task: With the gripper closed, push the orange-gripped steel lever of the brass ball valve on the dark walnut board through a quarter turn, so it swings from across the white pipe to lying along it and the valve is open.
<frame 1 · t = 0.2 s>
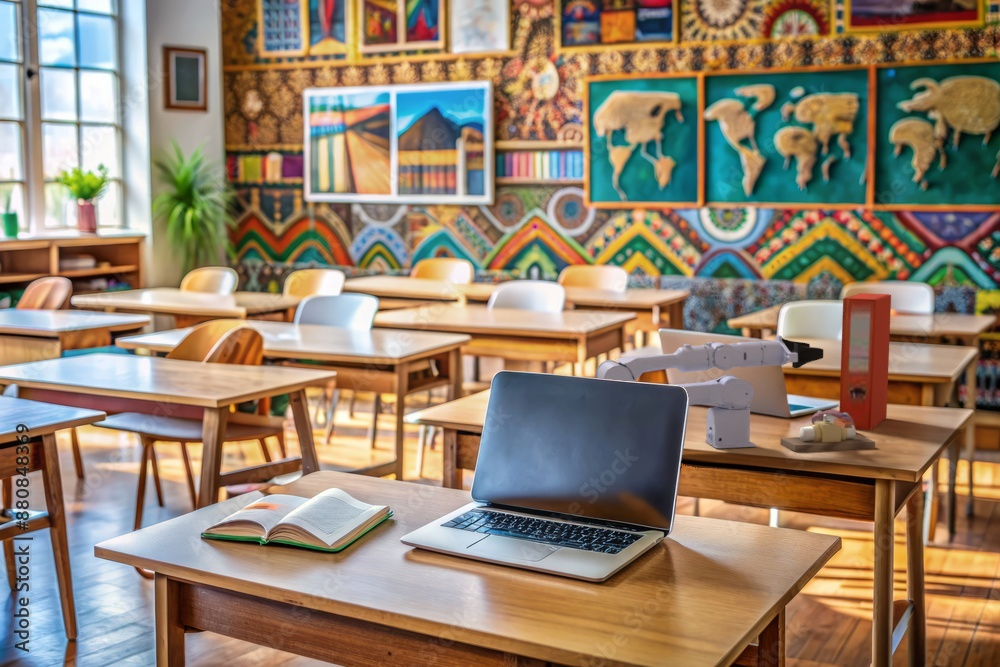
hand: (815, 350, 249), 21 cm above the table, tool horizontal, fingers open, 7 cm apart
video game controller: (832, 433, 261), on the table
pipe valve: (827, 446, 246), resting on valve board
valve lever: (836, 421, 241), point 7 cm above the table, hinge at 0.0°
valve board: (827, 446, 246), on the table
file binder: (863, 423, 273), on the table
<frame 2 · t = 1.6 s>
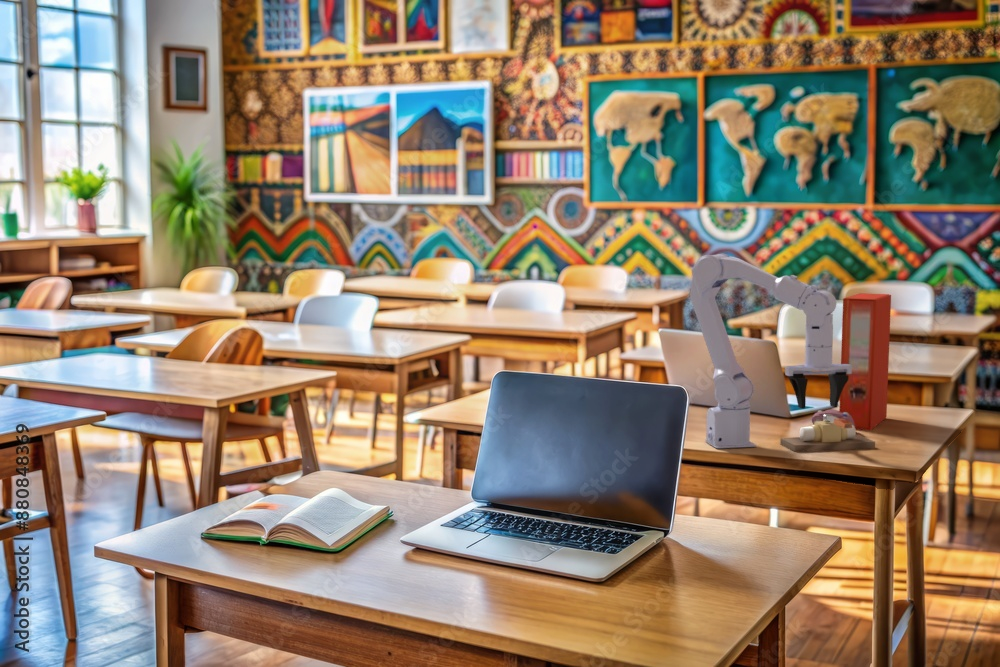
hand: (817, 407, 238), 10 cm above the table, tool pointing down, fingers open, 7 cm apart
nothing on the table moved.
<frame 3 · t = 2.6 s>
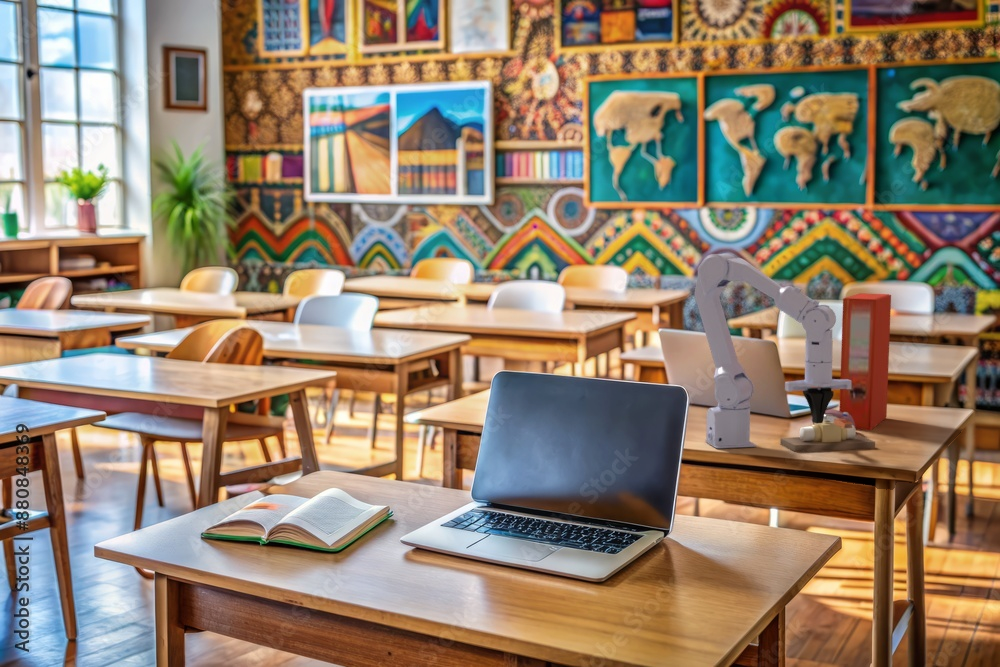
hand: (817, 422, 238), 7 cm above the table, tool pointing down, fingers closed
nothing on the table moved.
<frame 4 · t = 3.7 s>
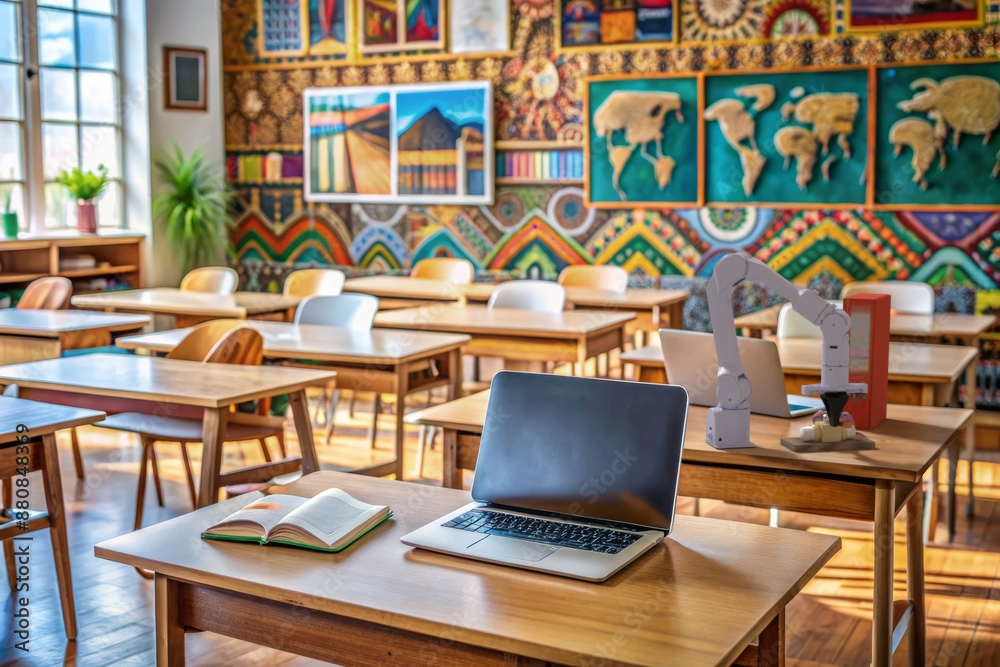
hand: (833, 426, 239), 6 cm above the table, tool pointing down, fingers closed, pressing on valve lever
valve lever: (836, 421, 241), point 7 cm above the table, hinge at 0.0°, touching gripper
everything else where it was.
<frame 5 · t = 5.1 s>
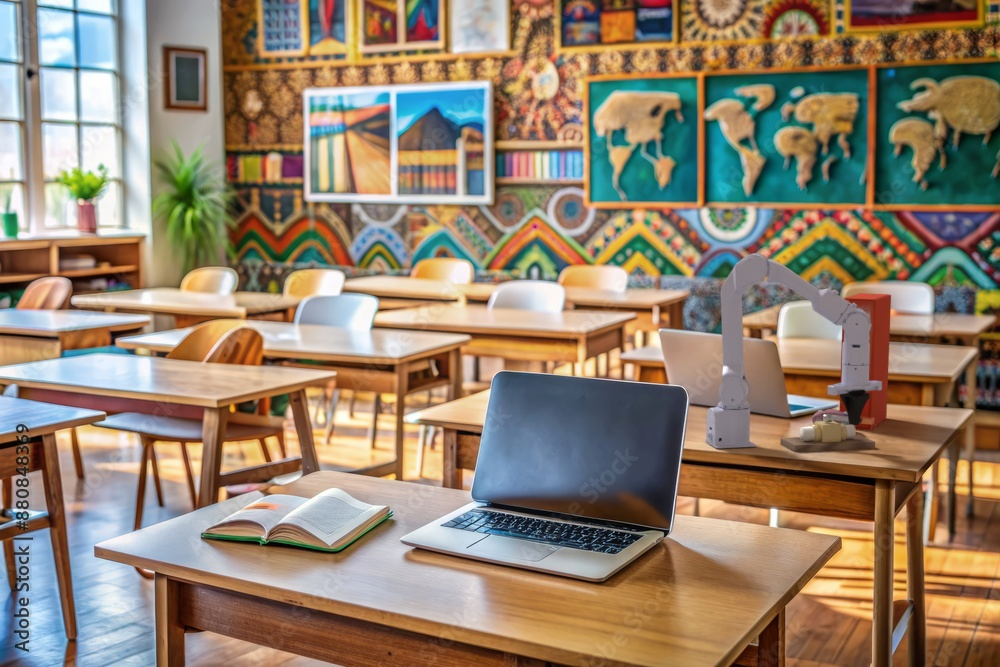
hand: (854, 424, 240), 6 cm above the table, tool pointing down, fingers closed, pressing on valve lever
valve lever: (847, 419, 243), point 7 cm above the table, hinge at 49.3°, touching gripper
everything else where it was.
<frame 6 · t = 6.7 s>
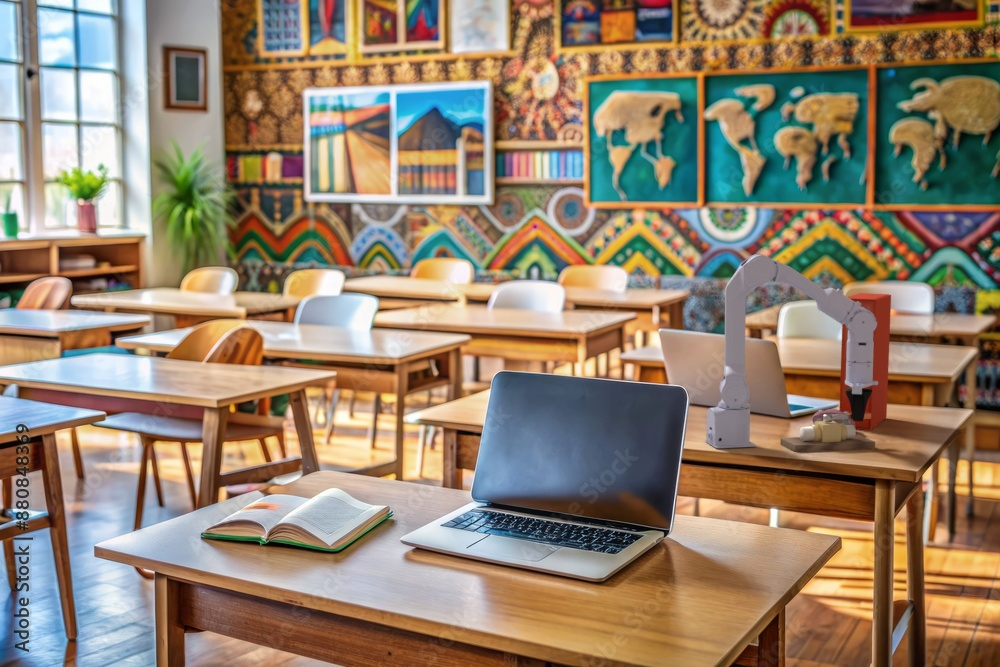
hand: (858, 421, 244), 6 cm above the table, tool pointing down, fingers closed
valve lever: (846, 417, 246), point 7 cm above the table, hinge at 90.5°, touching gripper
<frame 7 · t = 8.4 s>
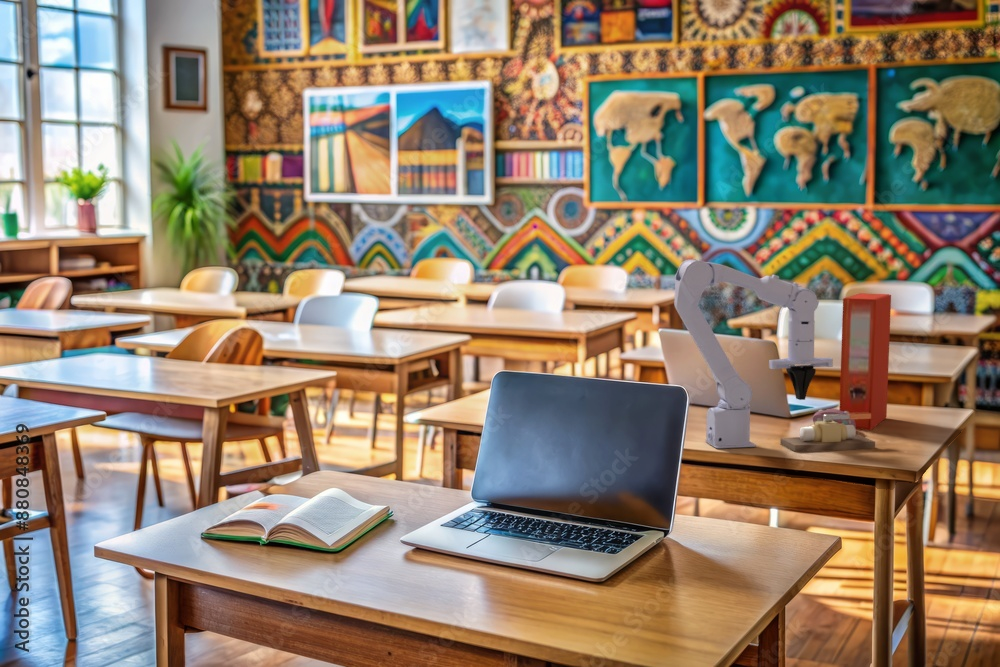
hand: (800, 399, 248), 10 cm above the table, tool pointing down, fingers closed
valve lever: (846, 417, 246), point 7 cm above the table, hinge at 90.6°
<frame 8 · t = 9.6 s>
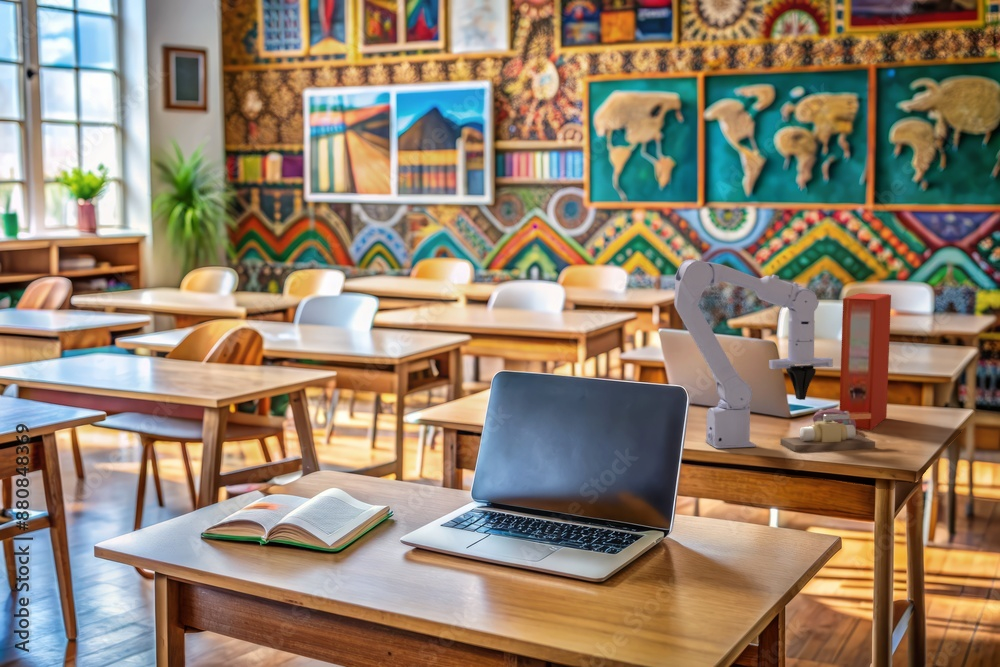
hand: (800, 399, 248), 10 cm above the table, tool pointing down, fingers closed
at the end: valve lever at +91° (first picture: +0°) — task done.
